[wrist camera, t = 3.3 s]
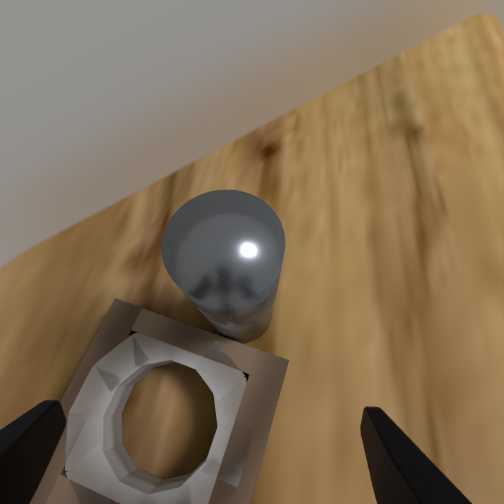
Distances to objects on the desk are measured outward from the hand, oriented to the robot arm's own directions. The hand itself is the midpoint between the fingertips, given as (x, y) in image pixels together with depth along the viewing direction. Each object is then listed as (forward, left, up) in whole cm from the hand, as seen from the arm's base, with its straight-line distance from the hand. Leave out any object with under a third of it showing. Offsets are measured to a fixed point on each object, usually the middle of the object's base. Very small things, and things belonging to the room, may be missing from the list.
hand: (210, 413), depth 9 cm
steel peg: (+2, -5, -12) cm, 13 cm away
